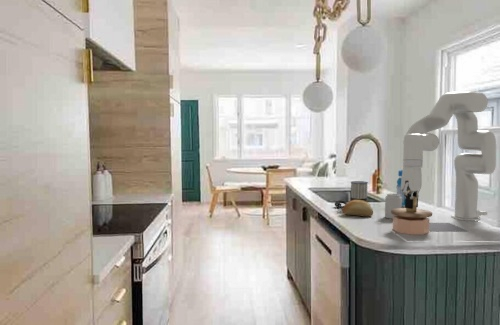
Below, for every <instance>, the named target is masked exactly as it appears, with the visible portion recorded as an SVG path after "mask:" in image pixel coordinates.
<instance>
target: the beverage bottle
mask: <svg viewBox="0 0 500 325" xmlns="http://www.w3.org/2000/svg"><path fill="white" fill-rule="evenodd" d="M402 171H403V169H402V170H398V174H397V175H398V177H399V178H398V179H397V180H396V184H397V185H396V194H400V196H401V197H402V208H405V195H404V193H403V191H402V190H401V179H402ZM408 191H410V190H408Z"/></svg>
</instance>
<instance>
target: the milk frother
mask: <svg viewBox="0 0 500 325" xmlns="http://www.w3.org/2000/svg"><path fill="white" fill-rule="evenodd" d="M368 184H369V182H368V181H364V180H363V181H362V180H353V181H350V201H351V200H364V201H366V202H368ZM346 203H347V202H346V201H344V200H340V199H339V200H336V201H335V202H334V206H335V207H336V208H338V209H343V207H344V206H345V204H346ZM342 204H343V205H342Z"/></svg>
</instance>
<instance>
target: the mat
mask: <svg viewBox="0 0 500 325" xmlns="http://www.w3.org/2000/svg"><path fill="white" fill-rule="evenodd" d="M431 232H432V233H433V232H446V233H447V232H451V233H452V232H454V233H455V232H463V233H465V232H468V233H469V231H468V230H466V229H465V228H463V227H460V226H458V225H455V224H453V223H450V222H429V233H431Z"/></svg>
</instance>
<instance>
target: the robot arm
mask: <svg viewBox="0 0 500 325" xmlns="http://www.w3.org/2000/svg"><path fill="white" fill-rule="evenodd" d="M488 105H489V104H488V97H487V95H485V93H483V92H476V91H468V90H467V91H451V92H446V93H443V94H442V95H441V96H440V97H439V98H438V99H437V102H436V103H435V105H434V106H433V108H432V109H431V110H430V113H429V114H427V115H425V116H424V117H422V118H420V119H419V120H418V121H415V122H414V123H413V124H412V125H411V126H410V127H409V129H408V130H407V132H405V135H403V141H402V142H403V143H402V144H403V145H402V146H403V147H402V148H403V149H402V150H403V153H402V155H403V156H402V167H403V168H402V170H403V171H402V179H401V190H402V191H403V193H404V195H405V207H404V208H409V209H413V199H412V197H417V208H418V207H419V193H420V191H421V189H422V183H423V182H422V180H423V179H422V168H423V159H424V158H423V157H424V156H423V154H424V152H433V151H435V150H437V149H438V147H439V145H440V139H439V137H438V136H437V135H436V134H435V133H430V132H432V131H433V132H434V131H437V130H439V129H442V128H444V127H446V126H447V125H448V124H449V122H450V121H451V119H452V117H453V116H454V117H455V119H456V123H457V124H456V125H457V145H458V146H457V147H458V148H459V149H461V150H462V151H463V150H464V151H472V152H463V153H459V154H456V156H455V157H454V161H453V162H454V164H453V165H454V170H455V171H454V172H455V194H454V196H455V197H454V198H455V200H454V213H452V214H451V215H450V217H451V218H452V219H455V220H459V221H460V220H462V221H475V222H478V221H481V216H488V212H487V211H484V210H483V211H482V210H479V209H478V201H479V200H478V199H479V197H478V194H479V193H478V192H479V181H478V179H477V177H476V175H491V174H493V173H494V172H495V171H496V165H497V139H496V136H495V134H494V132H493V131H491V130H485V129H484V130H483V129H482V130H481V129H479V125H478V123H479V121H478V118H477V115H476V114H475V113H482V112H483V111H485V110H486V109H487V107H488ZM428 132H429V133H428ZM473 151H477V152H478V151H479V152H481V153H476V152H475V153H474V152H473ZM475 174H476V175H475ZM408 190H410V191H408Z"/></svg>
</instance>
